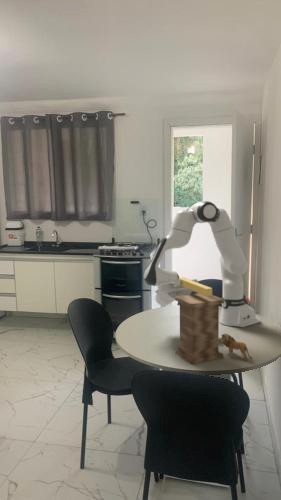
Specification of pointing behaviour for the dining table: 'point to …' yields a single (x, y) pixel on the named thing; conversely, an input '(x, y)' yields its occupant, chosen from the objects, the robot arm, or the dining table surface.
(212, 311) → the walnut pedestal
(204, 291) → the mustard rod
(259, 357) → the dining table surface
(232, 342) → the lion figurine
